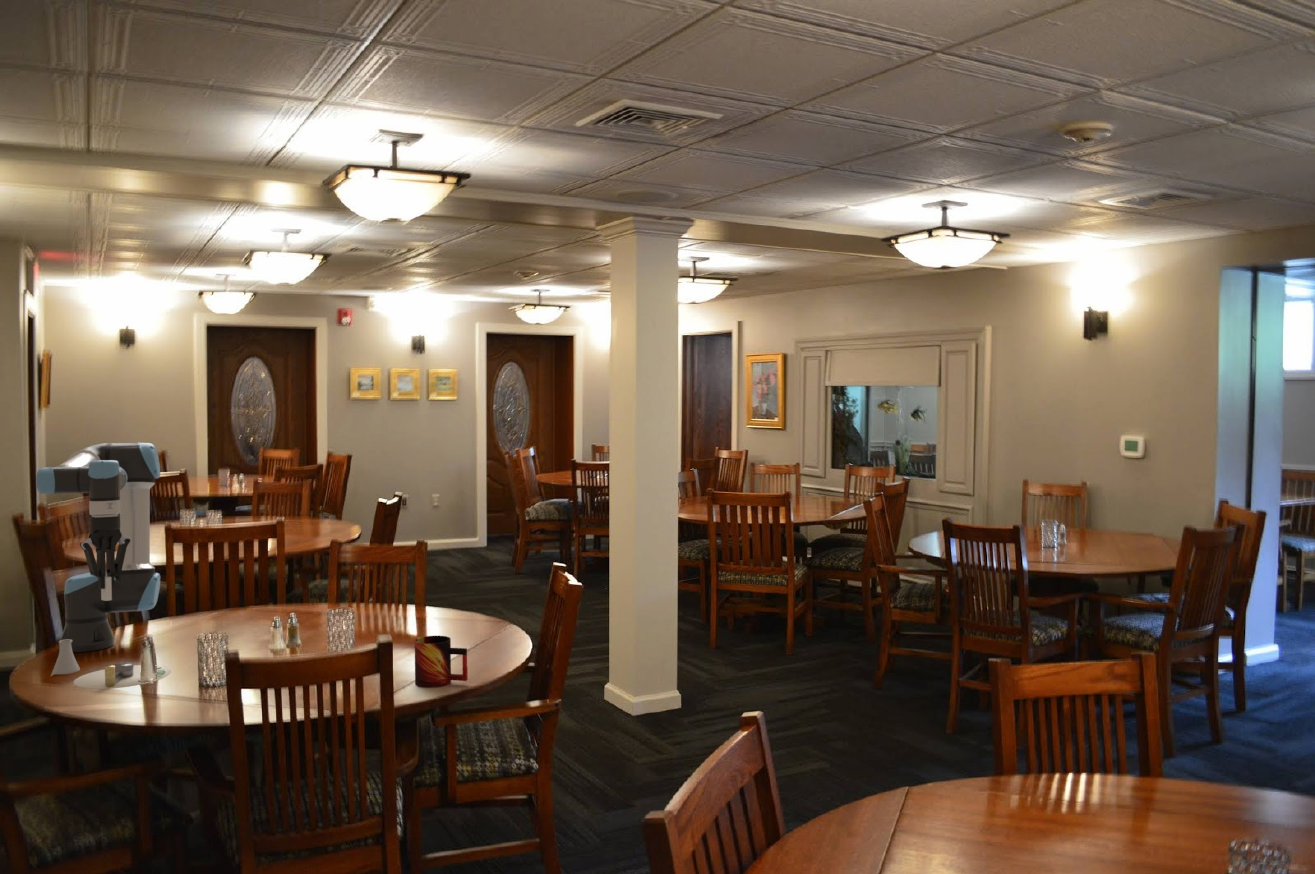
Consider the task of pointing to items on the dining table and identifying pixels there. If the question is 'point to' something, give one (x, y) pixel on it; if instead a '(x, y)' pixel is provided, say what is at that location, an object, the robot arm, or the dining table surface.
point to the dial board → (98, 680)
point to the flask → (65, 659)
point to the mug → (437, 662)
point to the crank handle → (117, 672)
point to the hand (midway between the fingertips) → (106, 599)
